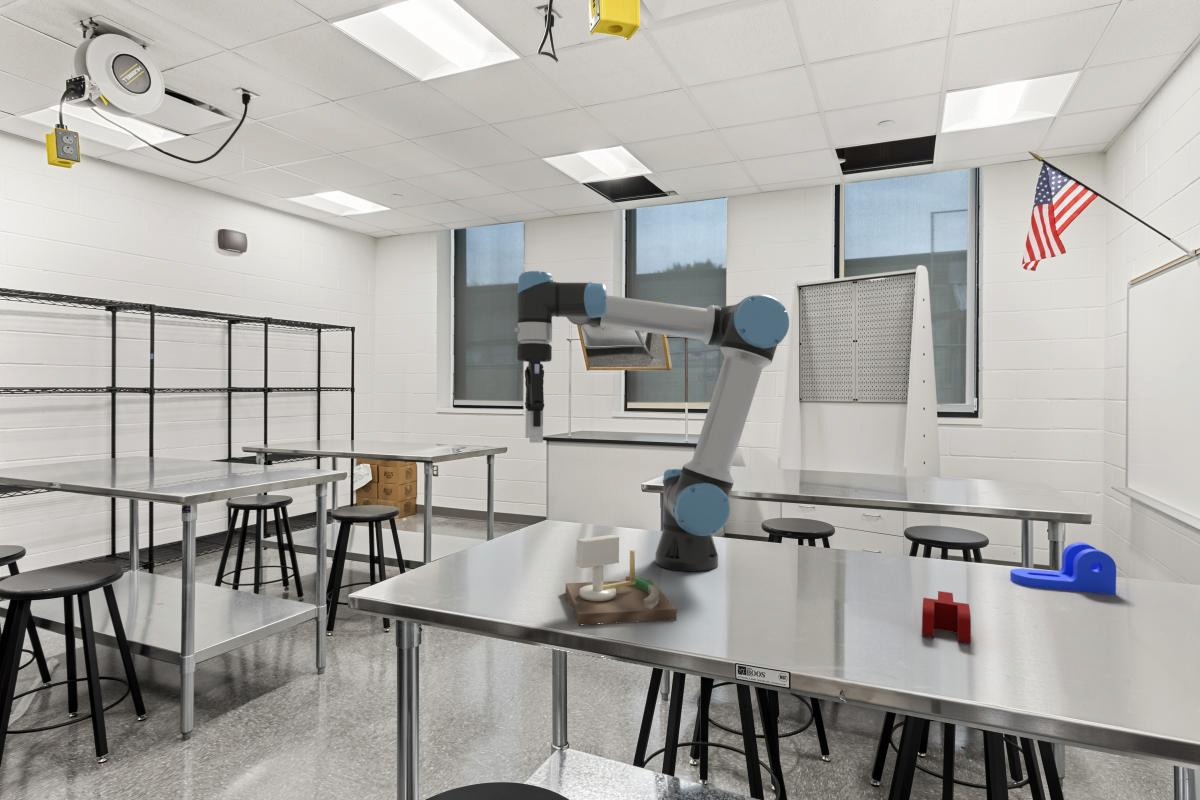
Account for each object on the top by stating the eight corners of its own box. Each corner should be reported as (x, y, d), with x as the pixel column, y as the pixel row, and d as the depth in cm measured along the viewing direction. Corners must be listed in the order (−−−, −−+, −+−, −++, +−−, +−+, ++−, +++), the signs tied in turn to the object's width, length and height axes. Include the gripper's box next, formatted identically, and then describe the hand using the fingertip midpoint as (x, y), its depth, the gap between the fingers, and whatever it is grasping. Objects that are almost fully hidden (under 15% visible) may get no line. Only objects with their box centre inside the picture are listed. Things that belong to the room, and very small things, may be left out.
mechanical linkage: (970, 648, 105) (970, 617, 105) (921, 639, 108) (922, 610, 108) (966, 618, 119) (966, 591, 119) (923, 611, 122) (924, 586, 122)
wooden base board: (650, 589, 134) (650, 572, 134) (676, 619, 116) (676, 600, 116) (565, 593, 131) (565, 576, 131) (578, 625, 112) (578, 605, 112)
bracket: (1098, 584, 141) (1098, 543, 141) (1115, 595, 133) (1116, 552, 133) (1005, 576, 147) (1006, 537, 147) (1017, 586, 139) (1017, 545, 139)
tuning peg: (570, 593, 123) (571, 536, 123) (624, 583, 130) (624, 530, 130) (589, 603, 117) (589, 544, 117) (644, 593, 124) (644, 536, 124)
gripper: (514, 347, 151) (513, 436, 151) (520, 338, 126) (519, 444, 127) (546, 347, 152) (545, 436, 153) (558, 339, 128) (557, 444, 128)
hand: (533, 440), depth 140 cm, fingers open, 13 cm apart
